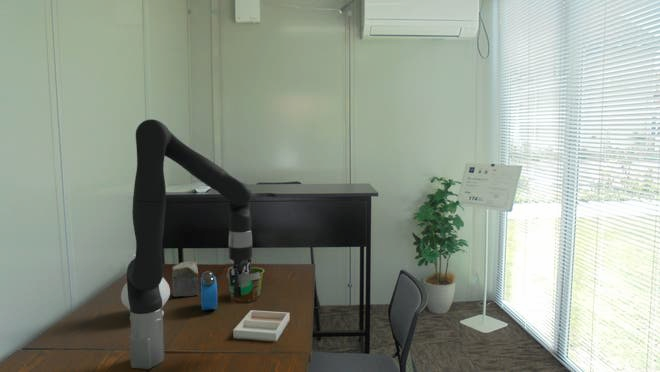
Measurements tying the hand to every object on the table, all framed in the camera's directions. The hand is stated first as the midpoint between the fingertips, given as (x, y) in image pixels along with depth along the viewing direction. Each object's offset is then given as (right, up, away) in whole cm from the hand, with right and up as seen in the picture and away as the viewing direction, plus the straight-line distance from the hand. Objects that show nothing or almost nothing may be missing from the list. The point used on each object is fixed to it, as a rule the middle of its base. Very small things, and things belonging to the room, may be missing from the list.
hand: (240, 294), depth 143 cm
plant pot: (-6, -14, +52) cm, 54 cm away
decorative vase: (-43, -16, +29) cm, 54 cm away
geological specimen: (-35, -14, +52) cm, 64 cm away
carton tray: (+5, -17, +17) cm, 25 cm away
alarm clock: (-21, -15, +37) cm, 45 cm away
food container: (0, -2, 0) cm, 3 cm away
